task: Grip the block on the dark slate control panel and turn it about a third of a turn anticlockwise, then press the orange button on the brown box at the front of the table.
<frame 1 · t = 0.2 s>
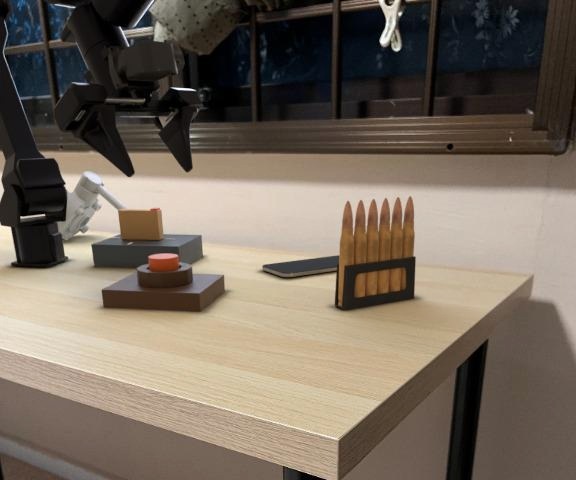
hand: (162, 173, 74), 15 cm above the table, tool tilted 30°, fingers open, 9 cm apart
button box: (167, 299, 75), on the table
block: (141, 223, 96), point 6 cm above the table, hinge at 0.0°
panel: (150, 261, 98), on the table
smartphone: (314, 269, 91), on the table
button: (163, 263, 74), point 4 cm above the table, slide at 0.1 cm
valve: (106, 241, 118), on the table
ammunition clip: (375, 303, 73), on the table
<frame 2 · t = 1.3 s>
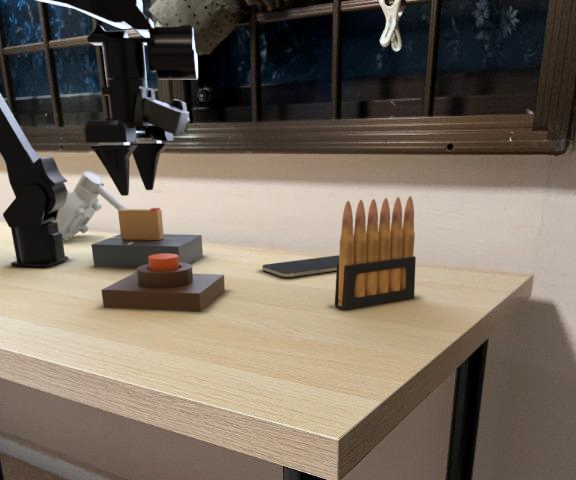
hand: (137, 192, 94), 11 cm above the table, tool pointing down, fingers open, 9 cm apart
nothing on the table moved.
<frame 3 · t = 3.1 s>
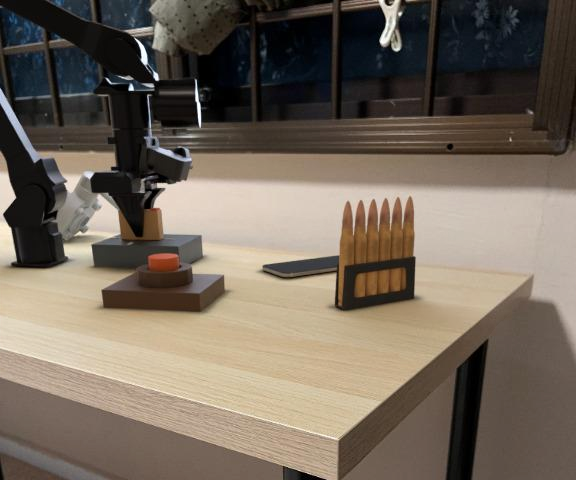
hand: (142, 236, 97), 4 cm above the table, tool pointing down, fingers closed on block, 2 cm apart
block: (141, 223, 96), point 6 cm above the table, hinge at 0.0°, touching gripper
everything else where it was.
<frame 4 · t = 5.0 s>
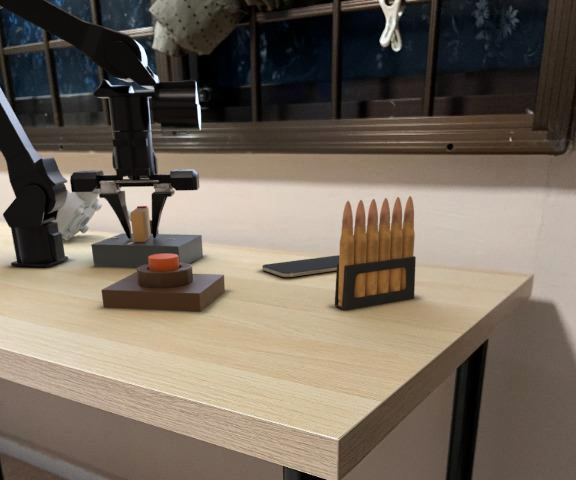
hand: (142, 237, 97), 4 cm above the table, tool pointing down, fingers open, 4 cm apart
block: (141, 223, 96), point 6 cm above the table, hinge at 104.7°
everything else where it was.
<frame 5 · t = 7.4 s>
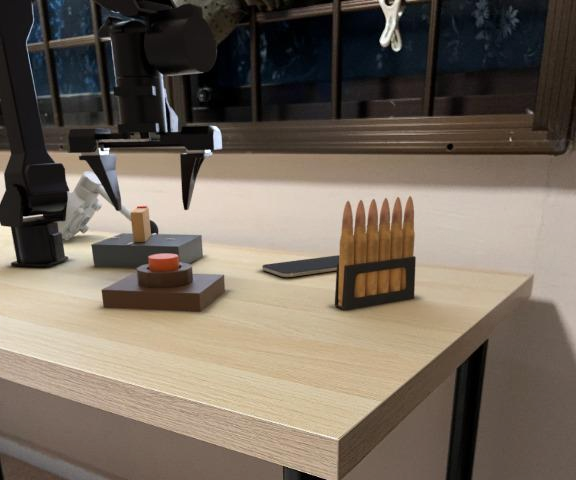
hand: (152, 210, 81), 10 cm above the table, tool pointing down, fingers open, 9 cm apart
nothing on the table moved.
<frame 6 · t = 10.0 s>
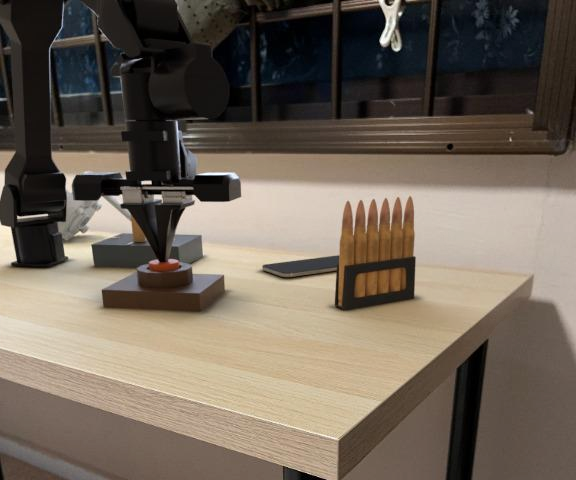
hand: (163, 261, 74), 5 cm above the table, tool pointing down, fingers closed, pressing on button
button: (164, 268, 74), point 4 cm above the table, slide at -0.6 cm, touching gripper
everything else where it was.
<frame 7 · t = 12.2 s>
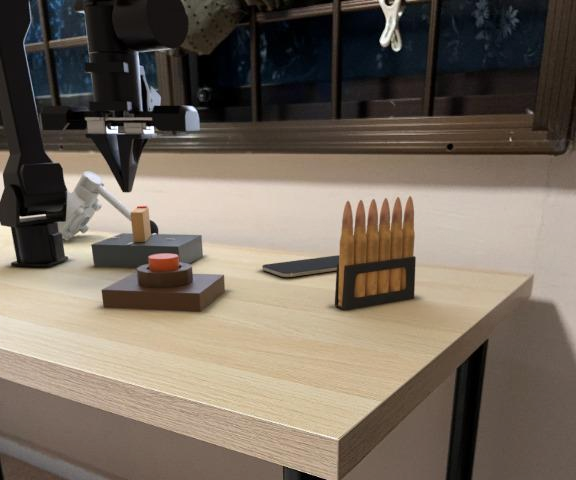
hand: (127, 192, 78), 12 cm above the table, tool pointing down, fingers closed
button: (163, 263, 74), point 4 cm above the table, slide at 0.1 cm
everything else where it was.
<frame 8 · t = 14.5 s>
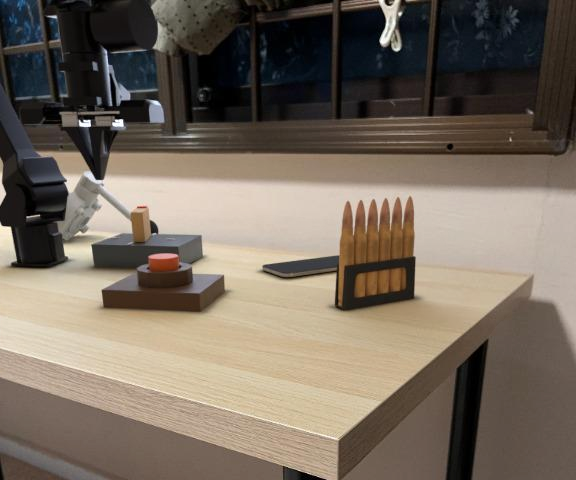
hand: (99, 180, 86), 13 cm above the table, tool pointing down, fingers closed
nothing on the table moved.
at the end: block at +105° (first picture: +0°); button pushed in 1.1 cm at the most during the clip, back to where it started at the end; button slide at 0.1 cm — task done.
